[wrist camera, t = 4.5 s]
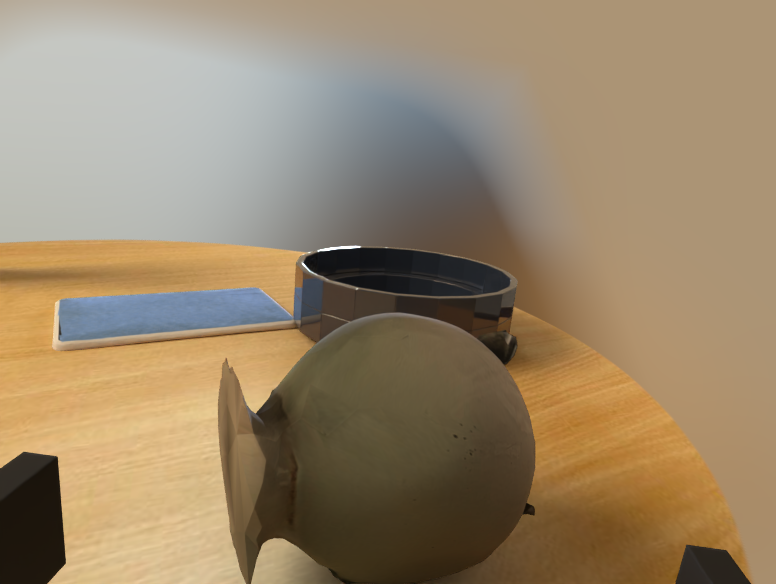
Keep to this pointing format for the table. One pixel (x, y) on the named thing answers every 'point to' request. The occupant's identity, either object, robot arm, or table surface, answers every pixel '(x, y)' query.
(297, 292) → the dark grey dish
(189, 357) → the table surface
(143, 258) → the table surface
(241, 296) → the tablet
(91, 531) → the table surface
